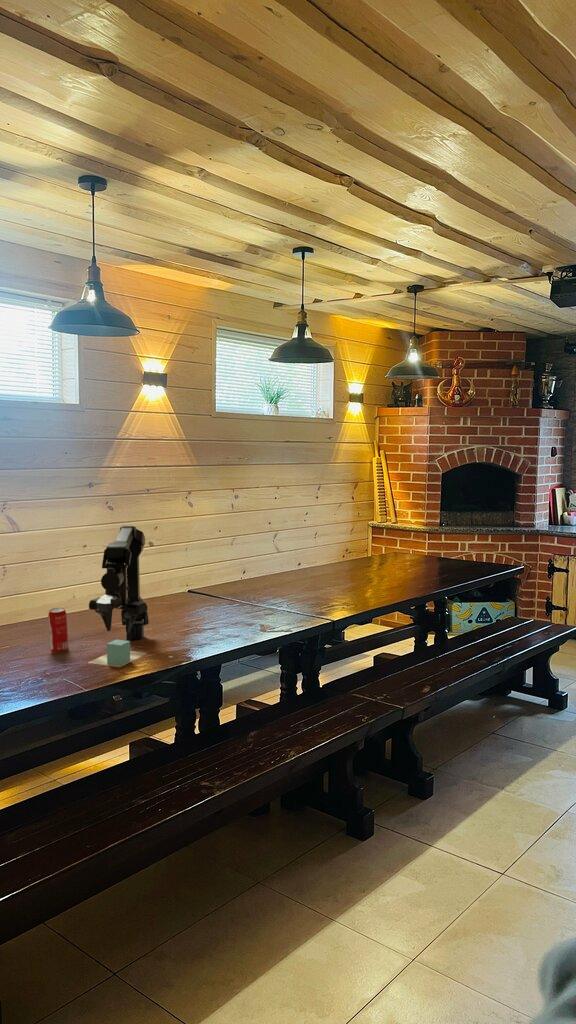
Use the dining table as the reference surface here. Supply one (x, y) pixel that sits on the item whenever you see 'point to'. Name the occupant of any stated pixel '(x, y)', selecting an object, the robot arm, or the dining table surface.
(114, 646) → the teal rectangular block
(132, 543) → the robot arm
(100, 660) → the board
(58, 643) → the beverage can
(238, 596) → the dining table surface
